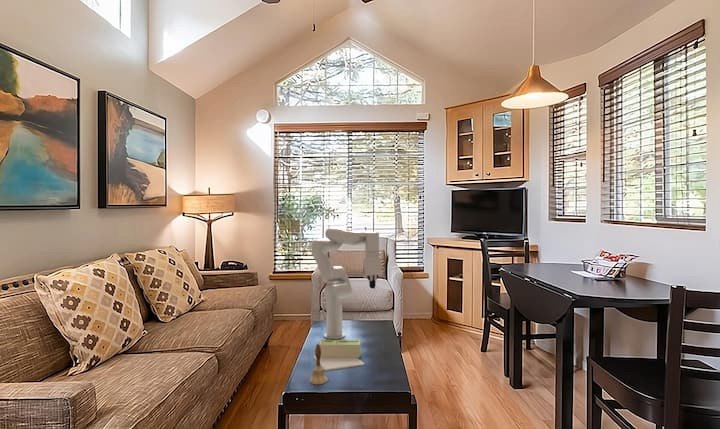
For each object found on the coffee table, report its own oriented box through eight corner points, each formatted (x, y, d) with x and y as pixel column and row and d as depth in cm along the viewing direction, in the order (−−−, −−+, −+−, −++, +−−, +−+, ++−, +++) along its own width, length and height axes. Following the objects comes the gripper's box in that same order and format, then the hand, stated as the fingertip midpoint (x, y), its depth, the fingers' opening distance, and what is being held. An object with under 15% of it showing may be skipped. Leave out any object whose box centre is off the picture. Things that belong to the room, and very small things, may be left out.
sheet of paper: (313, 357, 220) (313, 356, 220) (349, 352, 227) (349, 351, 227) (324, 371, 201) (324, 369, 201) (364, 365, 208) (364, 363, 208)
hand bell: (306, 383, 187) (306, 346, 187) (313, 376, 195) (313, 341, 195) (324, 385, 184) (324, 348, 184) (330, 378, 192) (330, 342, 192)
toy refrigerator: (359, 343, 216) (318, 343, 218) (360, 357, 217) (318, 357, 218) (360, 338, 224) (320, 338, 226) (360, 352, 224) (321, 352, 226)
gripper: (381, 253, 240) (382, 286, 240) (357, 254, 235) (357, 287, 235) (387, 254, 233) (387, 288, 233) (362, 255, 228) (362, 290, 228)
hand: (372, 287), depth 234 cm, fingers closed
